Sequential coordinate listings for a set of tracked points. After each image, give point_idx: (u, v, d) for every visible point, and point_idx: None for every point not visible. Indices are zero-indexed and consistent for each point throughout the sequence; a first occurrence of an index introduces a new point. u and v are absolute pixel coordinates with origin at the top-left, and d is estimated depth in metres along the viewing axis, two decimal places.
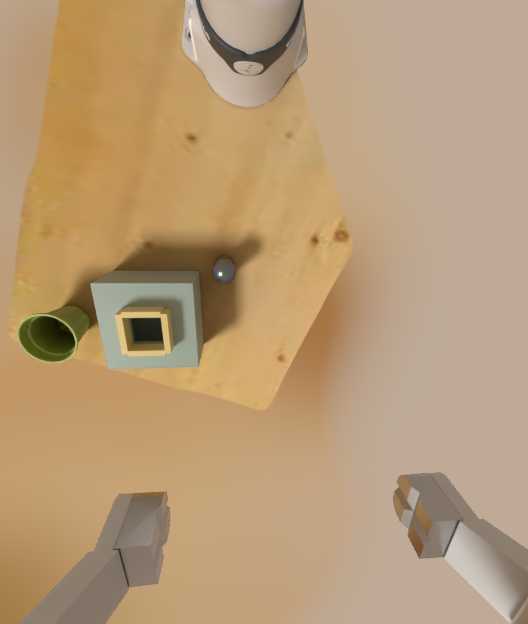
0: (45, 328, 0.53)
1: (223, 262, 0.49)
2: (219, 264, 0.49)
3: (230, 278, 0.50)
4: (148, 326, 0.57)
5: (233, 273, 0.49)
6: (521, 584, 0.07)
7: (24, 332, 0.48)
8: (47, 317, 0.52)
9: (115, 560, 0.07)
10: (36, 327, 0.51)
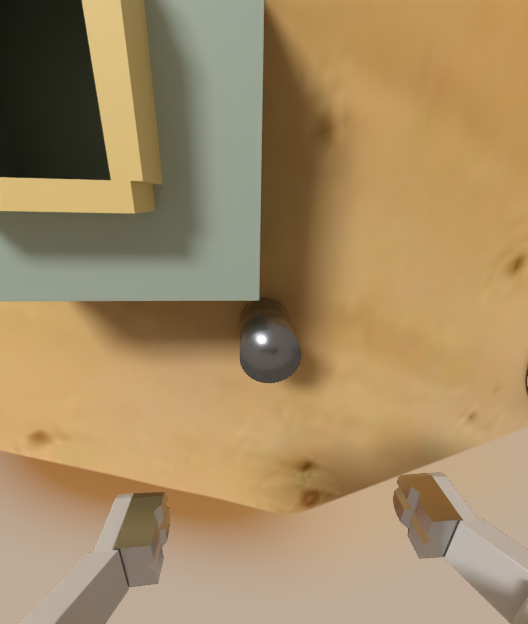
0: None
1: (298, 356, 0.19)
2: (293, 347, 0.18)
3: (256, 372, 0.19)
4: (59, 81, 0.16)
5: (268, 378, 0.19)
6: (522, 584, 0.07)
7: None
8: None
9: (115, 560, 0.07)
10: None
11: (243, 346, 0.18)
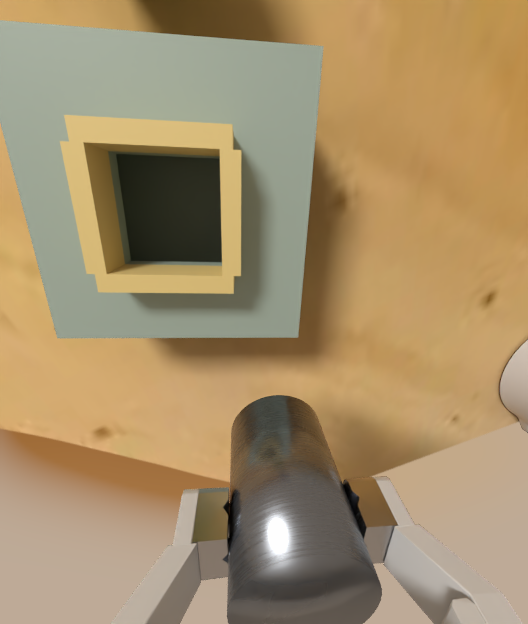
0: None
1: (373, 598, 0.07)
2: (366, 586, 0.07)
3: None
4: (150, 172, 0.22)
5: None
6: (448, 592, 0.07)
7: None
8: None
9: (194, 553, 0.08)
10: None
11: (236, 594, 0.07)
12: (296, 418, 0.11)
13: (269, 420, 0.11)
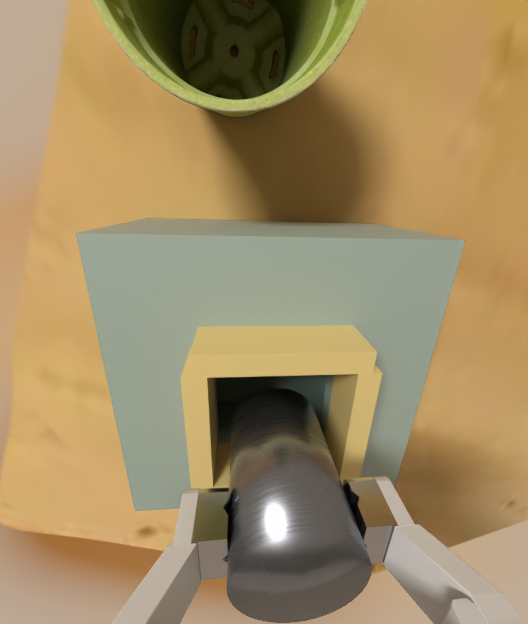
0: None
1: (364, 573, 0.08)
2: (356, 560, 0.08)
3: (266, 608, 0.08)
4: None
5: (293, 616, 0.08)
6: (448, 592, 0.07)
7: None
8: None
9: (194, 553, 0.08)
10: None
11: (235, 568, 0.07)
12: (292, 409, 0.11)
13: (267, 411, 0.11)
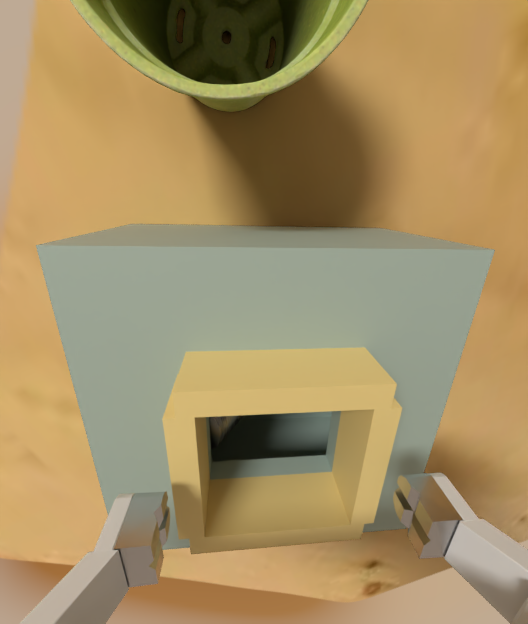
0: None
1: (216, 434, 0.14)
2: (209, 421, 0.14)
3: None
4: None
5: None
6: (522, 584, 0.07)
7: None
8: None
9: (115, 560, 0.07)
10: None
11: None
12: None
13: None
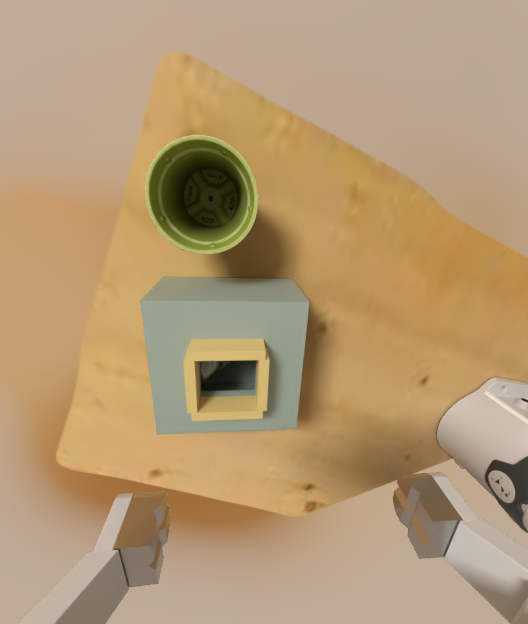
0: (203, 160, 0.27)
1: (203, 377, 0.31)
2: (200, 371, 0.31)
3: None
4: None
5: None
6: (522, 584, 0.07)
7: (214, 147, 0.23)
8: (226, 169, 0.28)
9: (115, 560, 0.07)
10: (214, 158, 0.26)
11: None
12: None
13: None
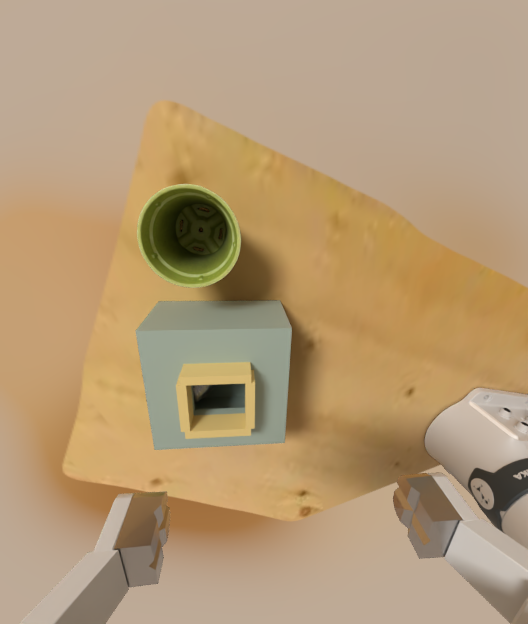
0: (191, 199, 0.30)
1: (196, 396, 0.33)
2: (193, 391, 0.33)
3: None
4: None
5: None
6: (521, 584, 0.07)
7: (199, 192, 0.26)
8: (213, 206, 0.30)
9: (115, 560, 0.07)
10: (201, 198, 0.28)
11: None
12: None
13: None
